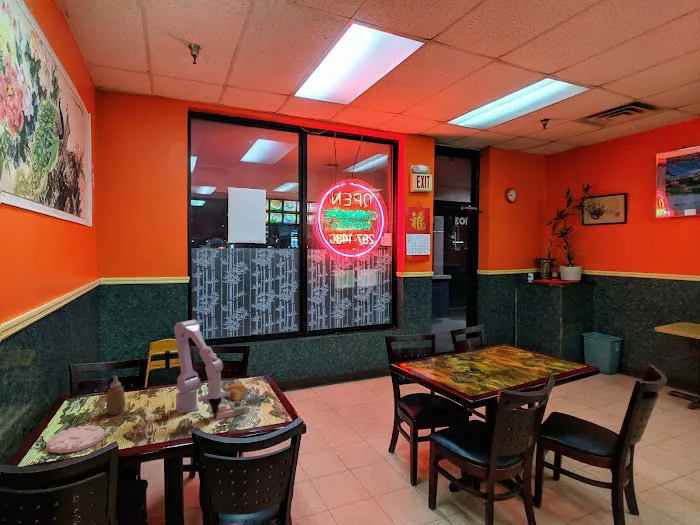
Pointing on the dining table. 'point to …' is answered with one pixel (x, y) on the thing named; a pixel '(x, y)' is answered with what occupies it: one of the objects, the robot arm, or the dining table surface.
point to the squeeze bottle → (115, 398)
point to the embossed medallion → (75, 439)
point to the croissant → (236, 391)
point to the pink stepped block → (223, 408)
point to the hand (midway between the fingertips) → (214, 413)
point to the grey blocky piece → (232, 410)
